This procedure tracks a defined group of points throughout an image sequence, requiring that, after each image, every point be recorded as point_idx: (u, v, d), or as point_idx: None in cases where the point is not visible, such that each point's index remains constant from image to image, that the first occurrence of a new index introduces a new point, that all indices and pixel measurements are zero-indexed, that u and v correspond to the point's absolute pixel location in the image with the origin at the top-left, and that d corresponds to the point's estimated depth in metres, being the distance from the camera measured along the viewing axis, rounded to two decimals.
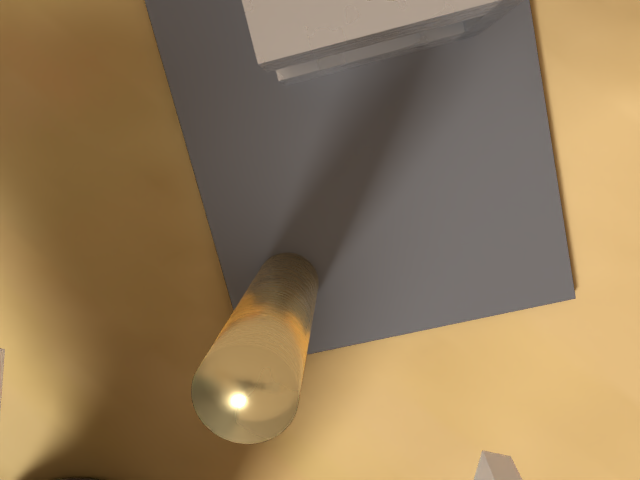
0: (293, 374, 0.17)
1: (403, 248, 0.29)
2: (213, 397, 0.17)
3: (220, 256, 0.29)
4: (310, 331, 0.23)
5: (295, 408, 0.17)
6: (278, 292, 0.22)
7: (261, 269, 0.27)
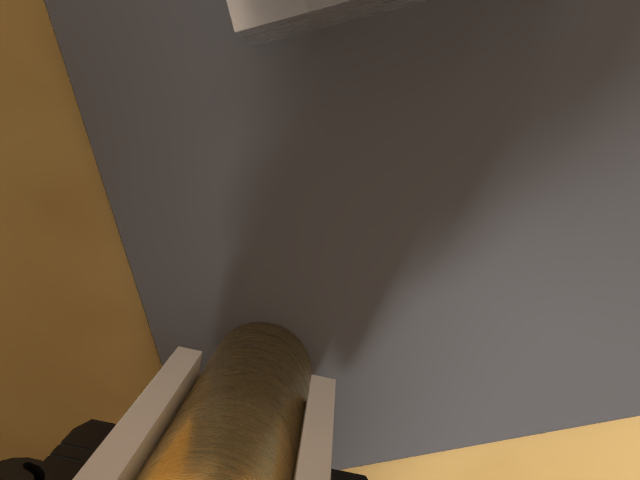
0: None
1: (448, 317, 0.18)
2: None
3: (153, 326, 0.18)
4: None
5: None
6: (222, 448, 0.11)
7: (213, 358, 0.16)
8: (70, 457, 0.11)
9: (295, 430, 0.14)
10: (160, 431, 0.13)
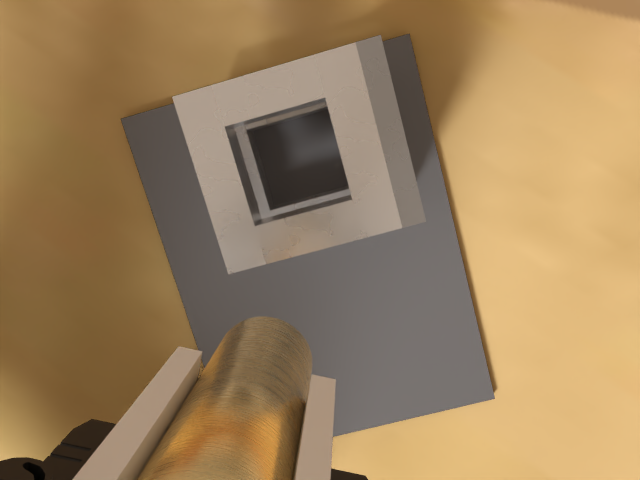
0: None
1: (355, 364, 0.36)
2: None
3: None
4: None
5: None
6: (229, 433, 0.11)
7: (218, 351, 0.17)
8: (70, 457, 0.11)
9: (297, 418, 0.14)
10: (160, 431, 0.13)
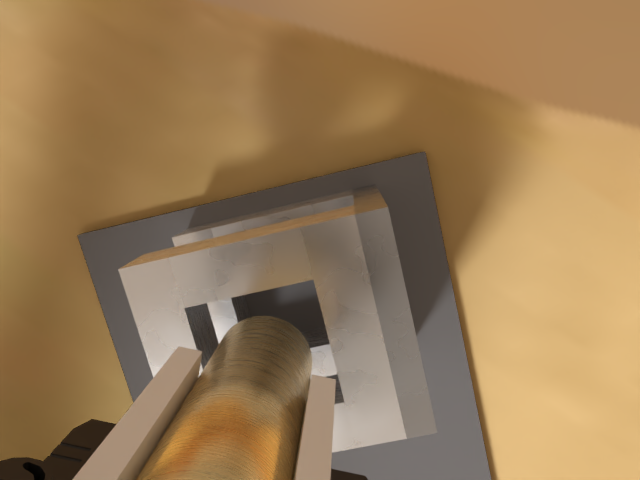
0: None
1: None
2: None
3: None
4: None
5: None
6: (229, 432, 0.11)
7: (217, 350, 0.17)
8: (70, 457, 0.11)
9: (297, 417, 0.14)
10: (160, 431, 0.13)
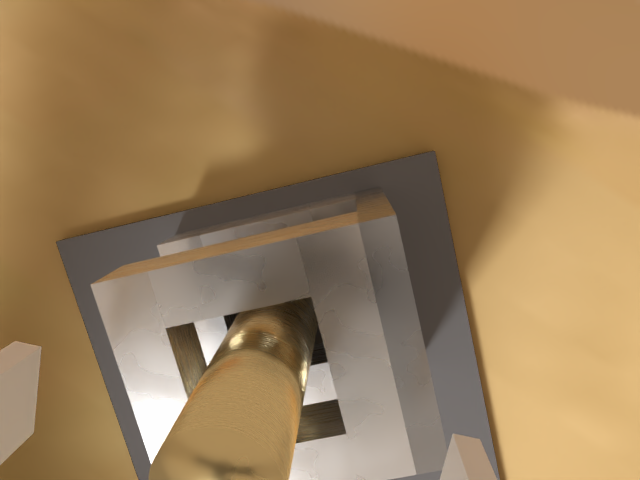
0: (278, 464, 0.13)
1: None
2: None
3: None
4: (307, 376, 0.19)
5: None
6: (268, 332, 0.18)
7: None
8: None
9: (311, 332, 0.21)
10: None
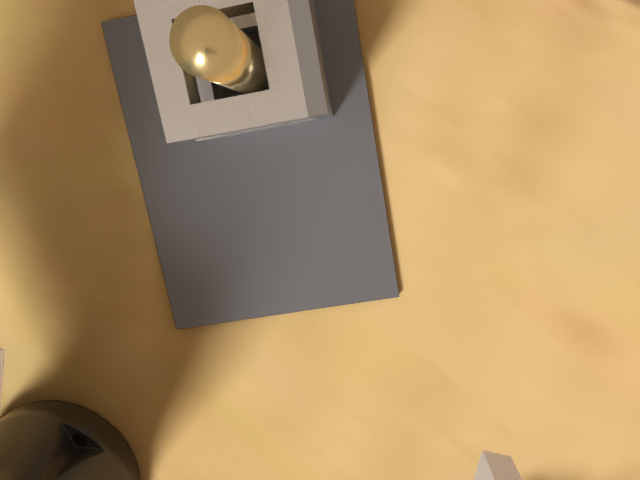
0: (234, 28, 0.26)
1: (282, 255, 0.42)
2: (182, 42, 0.26)
3: (159, 252, 0.43)
4: (256, 62, 0.32)
5: (234, 52, 0.26)
6: None
7: None
8: None
9: (261, 55, 0.34)
10: None
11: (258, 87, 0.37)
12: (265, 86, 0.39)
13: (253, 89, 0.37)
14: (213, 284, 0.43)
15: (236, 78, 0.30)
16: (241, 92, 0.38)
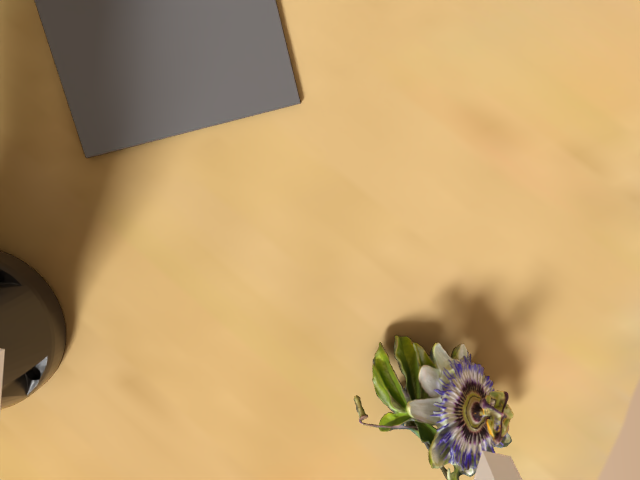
0: None
1: (182, 68, 0.42)
2: None
3: (61, 76, 0.43)
4: None
5: None
6: None
7: None
8: None
9: None
10: None
11: None
12: None
13: None
14: (116, 106, 0.43)
15: None
16: None
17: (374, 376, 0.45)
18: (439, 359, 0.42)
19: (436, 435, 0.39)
